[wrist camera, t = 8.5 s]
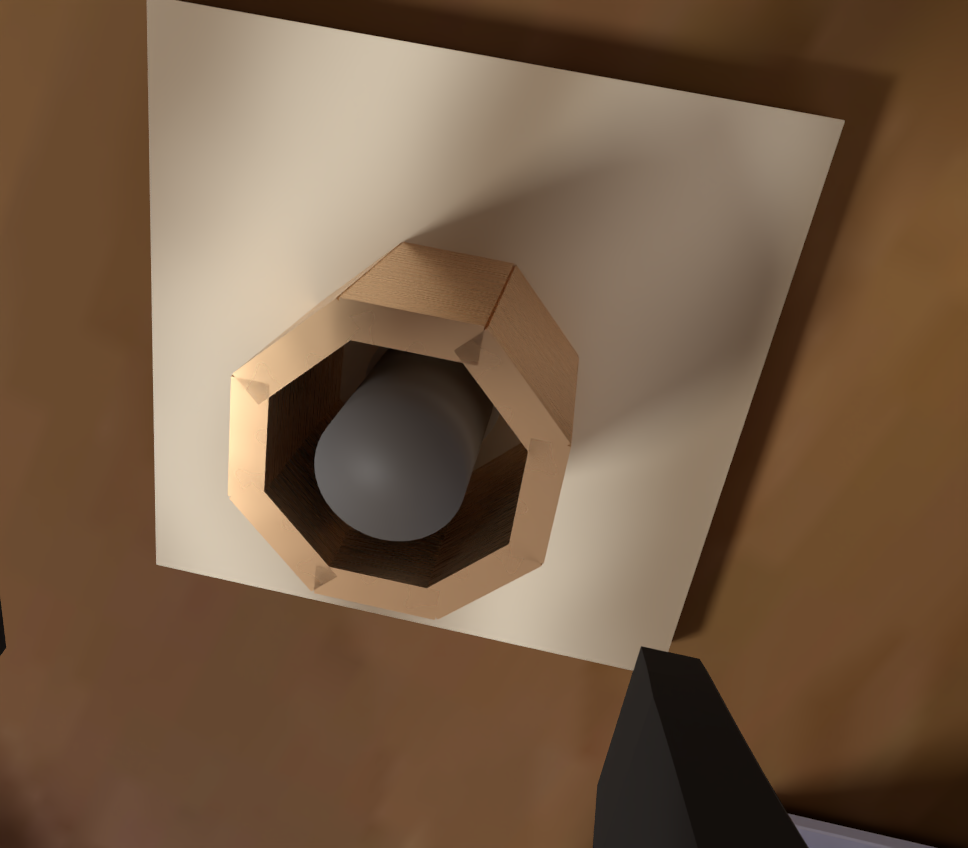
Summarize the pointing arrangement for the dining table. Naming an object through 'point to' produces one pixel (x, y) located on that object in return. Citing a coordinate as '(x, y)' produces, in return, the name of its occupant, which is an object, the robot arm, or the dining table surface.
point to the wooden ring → (315, 402)
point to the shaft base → (480, 232)
